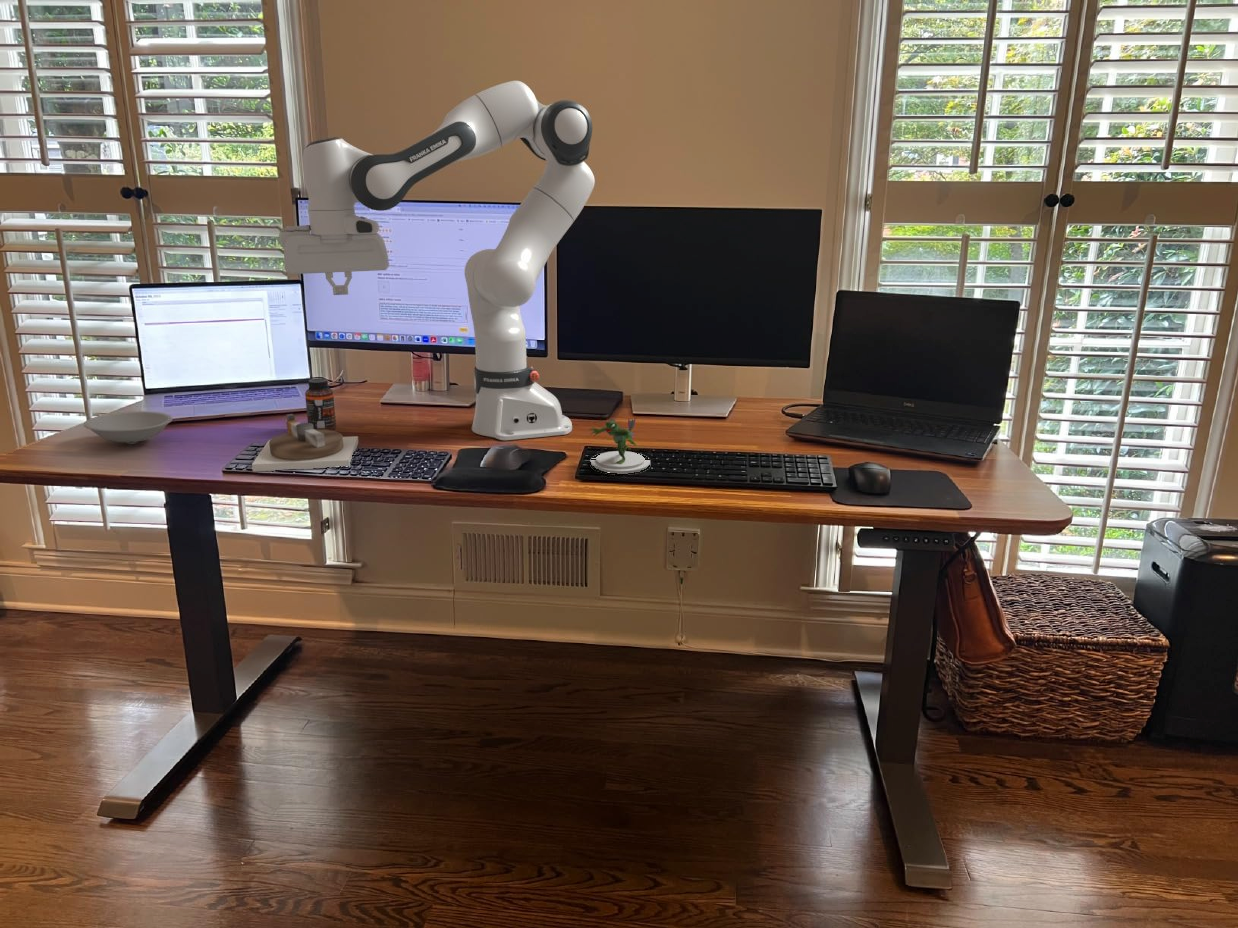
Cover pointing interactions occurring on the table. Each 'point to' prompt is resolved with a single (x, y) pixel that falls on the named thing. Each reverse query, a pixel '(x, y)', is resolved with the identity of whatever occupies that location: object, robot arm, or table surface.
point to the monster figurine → (619, 451)
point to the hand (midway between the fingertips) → (341, 294)
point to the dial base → (271, 463)
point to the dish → (128, 425)
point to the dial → (305, 442)
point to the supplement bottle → (320, 405)
